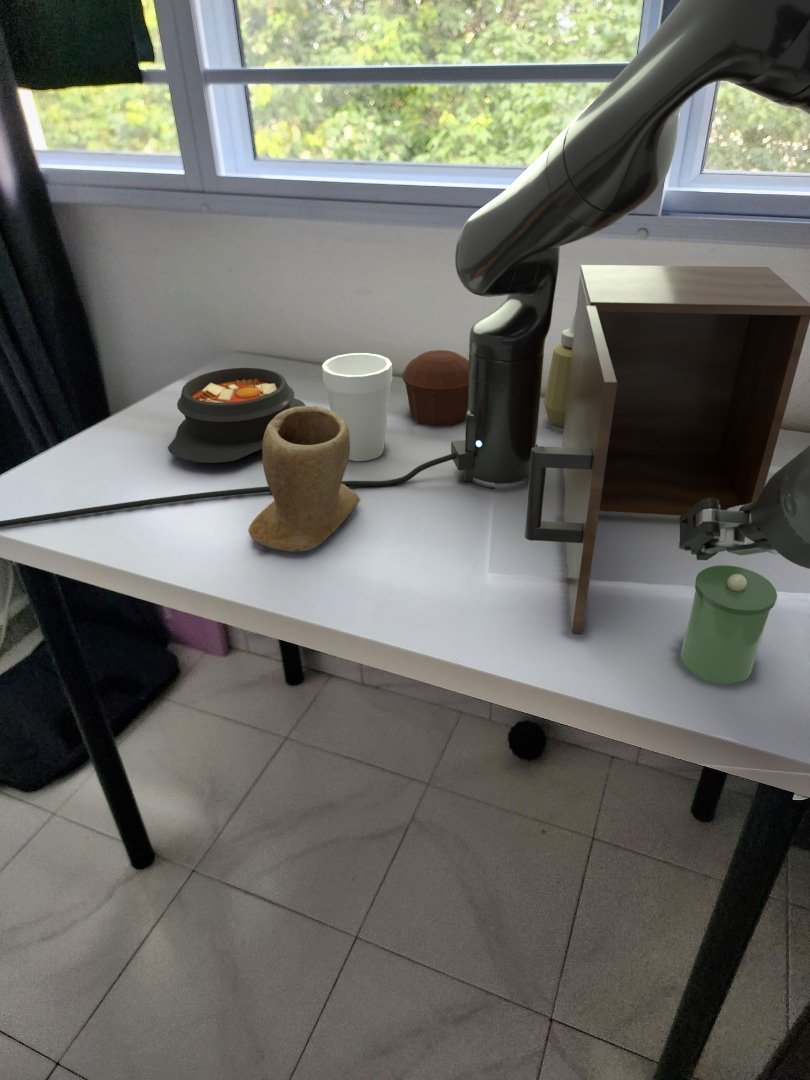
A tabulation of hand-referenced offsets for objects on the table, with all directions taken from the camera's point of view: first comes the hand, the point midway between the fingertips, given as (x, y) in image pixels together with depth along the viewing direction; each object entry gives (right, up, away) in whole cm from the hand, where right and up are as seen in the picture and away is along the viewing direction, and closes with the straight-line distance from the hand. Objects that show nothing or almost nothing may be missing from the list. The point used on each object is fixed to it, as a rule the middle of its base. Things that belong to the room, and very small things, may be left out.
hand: (755, 551), depth 61 cm
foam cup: (-35, +14, +48) cm, 61 cm away
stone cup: (-39, +2, +31) cm, 50 cm away
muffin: (-23, +21, +58) cm, 66 cm away
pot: (0, -10, +9) cm, 14 cm away
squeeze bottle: (-3, +18, +54) cm, 57 cm away
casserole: (-53, +16, +53) cm, 77 cm away
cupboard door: (-13, -2, +22) cm, 25 cm away
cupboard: (+4, +8, +37) cm, 38 cm away
